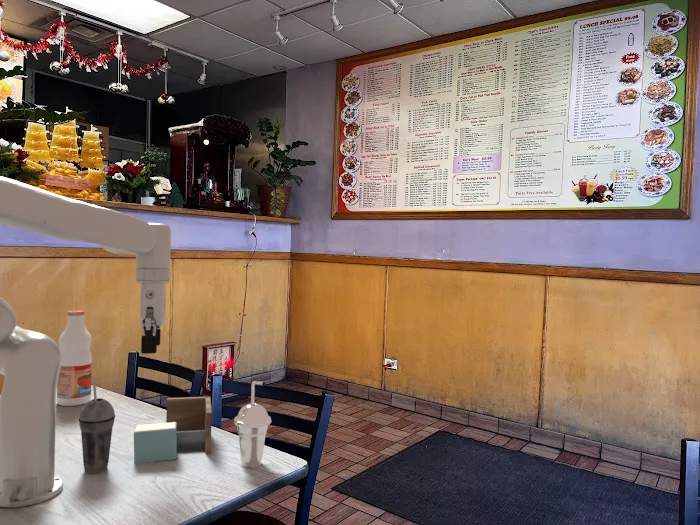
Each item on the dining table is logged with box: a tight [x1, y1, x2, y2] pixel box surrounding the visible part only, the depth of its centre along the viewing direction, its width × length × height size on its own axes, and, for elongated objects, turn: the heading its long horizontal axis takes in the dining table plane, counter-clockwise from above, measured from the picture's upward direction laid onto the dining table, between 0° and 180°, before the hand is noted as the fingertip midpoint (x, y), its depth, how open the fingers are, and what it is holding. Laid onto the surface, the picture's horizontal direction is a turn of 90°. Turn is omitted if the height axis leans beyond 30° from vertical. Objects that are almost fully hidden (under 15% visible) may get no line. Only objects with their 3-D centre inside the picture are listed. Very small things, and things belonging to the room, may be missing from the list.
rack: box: [165, 396, 213, 455], centre depth 135 cm, size 14×11×10 cm
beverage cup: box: [78, 379, 116, 475], centre depth 118 cm, size 7×7×20 cm
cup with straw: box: [233, 380, 272, 469], centre depth 124 cm, size 8×9×20 cm
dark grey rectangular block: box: [177, 430, 205, 454], centre depth 132 cm, size 4×8×4 cm, turn 106°
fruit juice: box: [56, 309, 93, 407], centre depth 167 cm, size 9×9×28 cm
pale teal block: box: [133, 422, 178, 464], centre depth 126 cm, size 5×9×7 cm, turn 106°
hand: (151, 349), depth 128 cm, fingers open, 9 cm apart
